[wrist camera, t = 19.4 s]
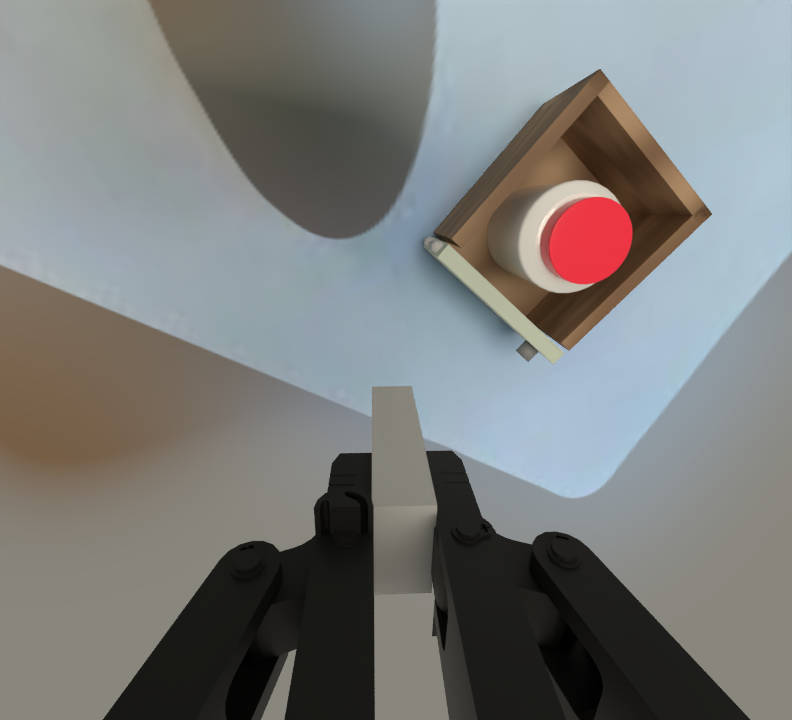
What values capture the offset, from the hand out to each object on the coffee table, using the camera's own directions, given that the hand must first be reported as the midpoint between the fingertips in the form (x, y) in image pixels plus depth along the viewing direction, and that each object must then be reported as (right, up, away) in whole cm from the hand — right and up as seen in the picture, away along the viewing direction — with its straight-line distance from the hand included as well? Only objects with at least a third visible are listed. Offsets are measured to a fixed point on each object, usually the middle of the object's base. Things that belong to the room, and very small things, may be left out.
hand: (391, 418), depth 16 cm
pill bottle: (+12, +14, +21) cm, 28 cm away
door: (+7, +9, +23) cm, 26 cm away
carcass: (+13, +15, +21) cm, 29 cm away
